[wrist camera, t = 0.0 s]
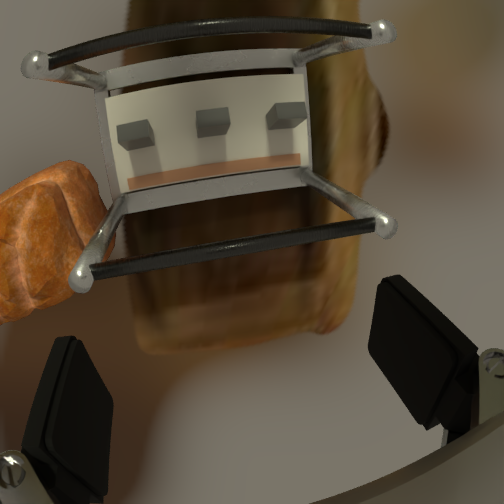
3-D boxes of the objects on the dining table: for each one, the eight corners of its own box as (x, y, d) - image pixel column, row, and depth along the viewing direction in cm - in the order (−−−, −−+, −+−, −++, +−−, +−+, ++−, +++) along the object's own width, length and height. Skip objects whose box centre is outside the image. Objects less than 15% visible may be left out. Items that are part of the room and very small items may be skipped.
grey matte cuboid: (265, 115, 30) (275, 102, 26) (292, 113, 31) (304, 101, 27) (268, 130, 30) (278, 119, 27) (294, 127, 31) (307, 117, 27)
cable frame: (94, 75, 29) (20, 52, 12) (301, 50, 33) (394, 18, 16) (117, 213, 37) (74, 298, 20) (310, 182, 41) (396, 240, 24)
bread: (127, 246, 39) (105, 317, 26) (-7, 303, 38) (-47, 367, 24) (85, 146, 33) (30, 172, 19) (-48, 227, 31) (-106, 276, 18)
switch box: (116, 99, 31) (104, 98, 26) (285, 78, 34) (303, 73, 29) (129, 180, 36) (120, 193, 30) (291, 156, 39) (309, 165, 33)
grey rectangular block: (125, 135, 28) (116, 125, 24) (153, 130, 29) (147, 118, 25) (127, 151, 28) (117, 142, 24) (154, 145, 29) (149, 136, 25)
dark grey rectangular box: (195, 123, 29) (195, 111, 25) (224, 119, 30) (228, 106, 26) (197, 138, 29) (198, 128, 26) (226, 134, 30) (230, 123, 26)
